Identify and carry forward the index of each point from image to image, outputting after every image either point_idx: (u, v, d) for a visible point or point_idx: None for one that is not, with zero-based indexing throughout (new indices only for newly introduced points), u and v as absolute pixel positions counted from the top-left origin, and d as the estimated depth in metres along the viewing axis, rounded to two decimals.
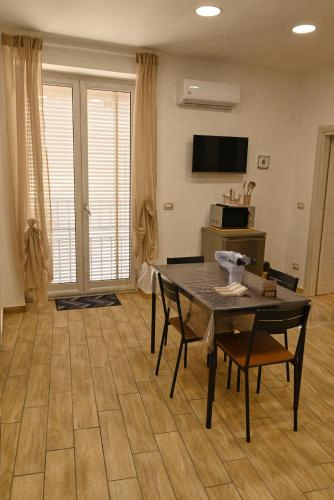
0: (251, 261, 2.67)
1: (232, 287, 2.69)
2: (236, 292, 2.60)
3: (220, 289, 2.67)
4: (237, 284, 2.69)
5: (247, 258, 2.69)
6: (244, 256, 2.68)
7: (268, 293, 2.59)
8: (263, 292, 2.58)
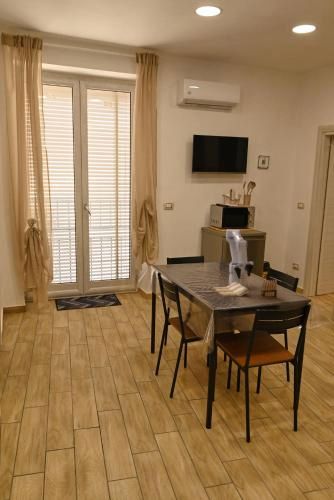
0: None
1: (232, 287, 2.69)
2: (236, 292, 2.60)
3: (220, 289, 2.67)
4: (237, 284, 2.69)
5: (244, 263, 2.63)
6: (240, 264, 2.63)
7: (268, 293, 2.59)
8: (263, 292, 2.58)
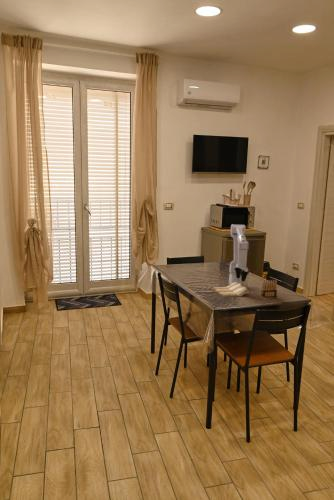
0: None
1: (232, 287, 2.69)
2: (236, 292, 2.60)
3: (220, 289, 2.67)
4: (237, 284, 2.69)
5: (240, 268, 2.61)
6: (237, 267, 2.63)
7: (268, 293, 2.59)
8: (263, 292, 2.58)
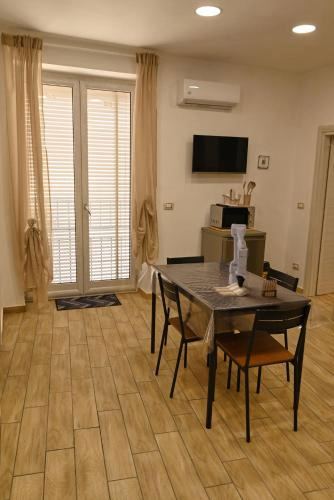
0: None
1: (233, 287, 2.69)
2: (236, 292, 2.60)
3: (220, 289, 2.67)
4: None
5: (240, 275, 2.62)
6: None
7: (268, 293, 2.59)
8: (263, 292, 2.58)
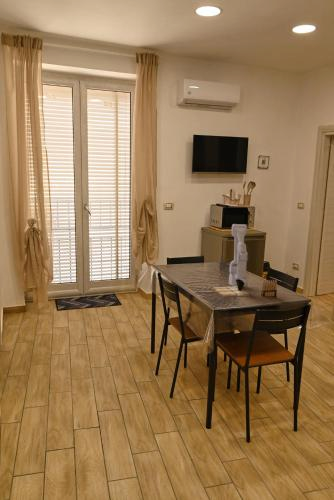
0: None
1: (233, 288, 2.70)
2: (237, 293, 2.60)
3: (220, 289, 2.67)
4: None
5: (240, 279, 2.62)
6: None
7: (268, 293, 2.59)
8: (263, 292, 2.58)
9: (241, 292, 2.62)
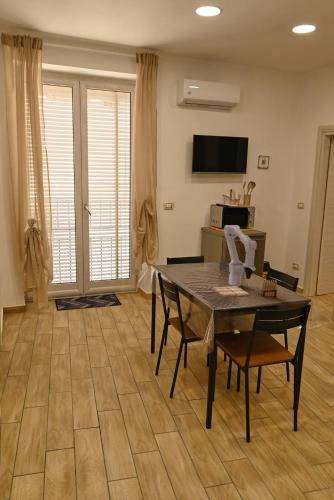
0: None
1: (233, 288, 2.70)
2: (237, 293, 2.60)
3: (220, 289, 2.67)
4: (239, 288, 2.70)
5: None
6: None
7: (268, 293, 2.59)
8: (263, 292, 2.58)
9: (241, 292, 2.62)
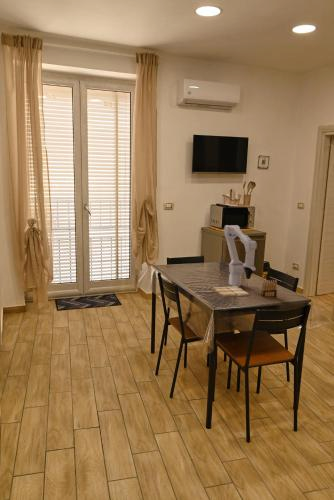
0: None
1: (233, 288, 2.70)
2: (237, 293, 2.60)
3: (220, 289, 2.67)
4: (239, 288, 2.70)
5: None
6: None
7: (268, 293, 2.59)
8: (263, 292, 2.58)
9: (241, 292, 2.62)
